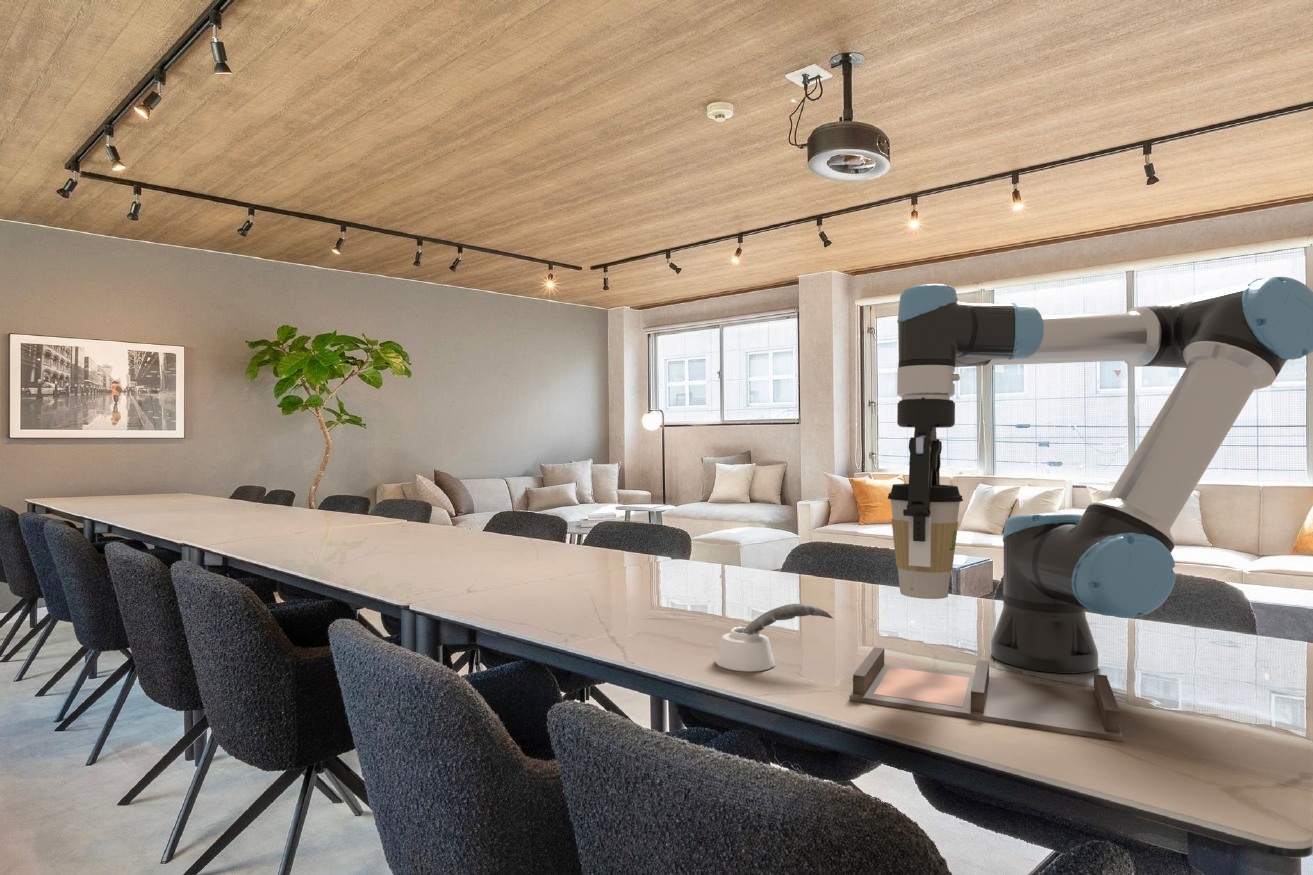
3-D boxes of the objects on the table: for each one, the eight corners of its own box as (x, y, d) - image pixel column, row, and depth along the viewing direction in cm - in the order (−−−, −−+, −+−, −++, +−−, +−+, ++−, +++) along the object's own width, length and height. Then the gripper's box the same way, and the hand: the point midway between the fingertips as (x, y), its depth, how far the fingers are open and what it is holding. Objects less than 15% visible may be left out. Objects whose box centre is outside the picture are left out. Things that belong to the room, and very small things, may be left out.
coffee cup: (973, 594, 106) (974, 486, 106) (944, 605, 99) (945, 488, 99) (905, 585, 113) (906, 482, 113) (873, 594, 106) (874, 485, 106)
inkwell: (724, 652, 124) (724, 590, 124) (837, 665, 118) (838, 600, 118) (707, 668, 115) (708, 601, 116) (828, 682, 109) (829, 611, 109)
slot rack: (849, 699, 101) (849, 676, 101) (873, 665, 118) (873, 645, 118) (1123, 741, 88) (1123, 714, 88) (1107, 696, 104) (1107, 673, 104)
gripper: (947, 392, 95) (945, 574, 95) (961, 403, 115) (959, 553, 115) (884, 393, 98) (882, 569, 98) (908, 403, 118) (906, 549, 118)
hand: (924, 560), depth 106 cm, fingers closed on coffee cup, 10 cm apart
